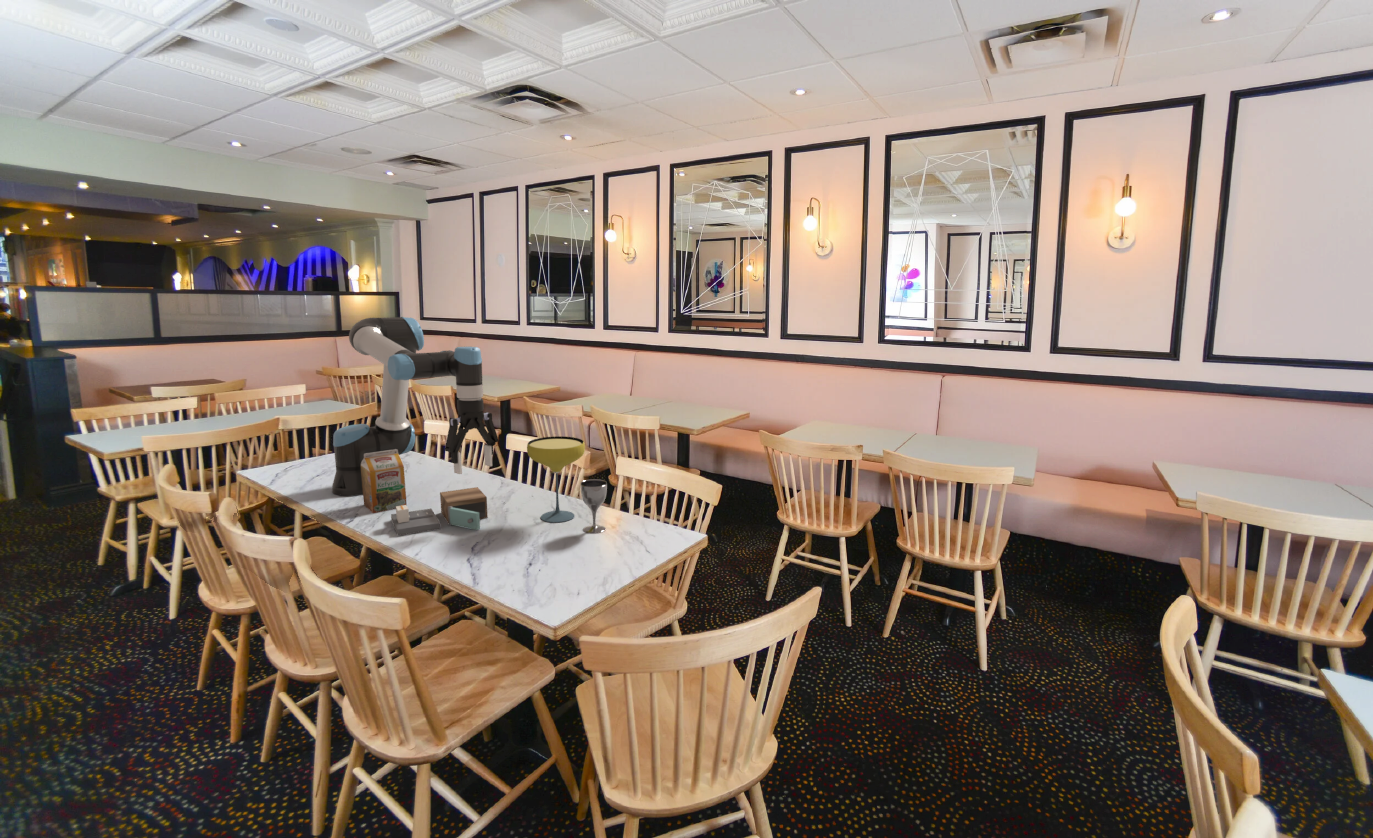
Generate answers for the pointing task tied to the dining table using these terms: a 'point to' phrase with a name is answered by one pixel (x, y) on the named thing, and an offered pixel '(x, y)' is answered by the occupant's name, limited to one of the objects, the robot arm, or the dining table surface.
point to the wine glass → (593, 500)
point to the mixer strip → (416, 522)
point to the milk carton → (383, 481)
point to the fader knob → (402, 513)
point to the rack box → (464, 501)
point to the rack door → (463, 518)
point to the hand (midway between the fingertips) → (473, 469)
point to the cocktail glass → (556, 464)
